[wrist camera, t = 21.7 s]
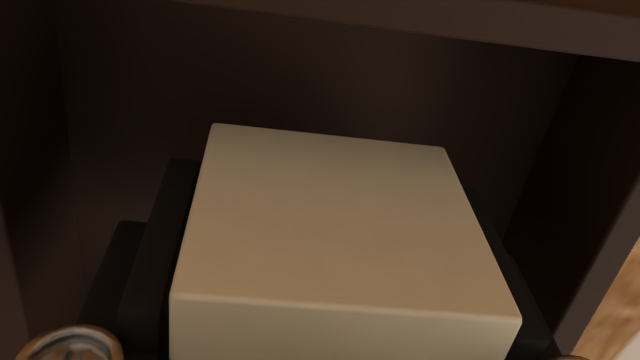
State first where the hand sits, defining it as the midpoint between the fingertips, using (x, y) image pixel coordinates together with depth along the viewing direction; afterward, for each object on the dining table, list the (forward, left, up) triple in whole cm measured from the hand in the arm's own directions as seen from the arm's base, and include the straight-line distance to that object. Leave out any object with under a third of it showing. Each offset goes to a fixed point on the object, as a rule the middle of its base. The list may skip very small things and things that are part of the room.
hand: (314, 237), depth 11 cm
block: (0, 0, 0) cm, 0 cm away
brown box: (+2, 0, -3) cm, 4 cm away
